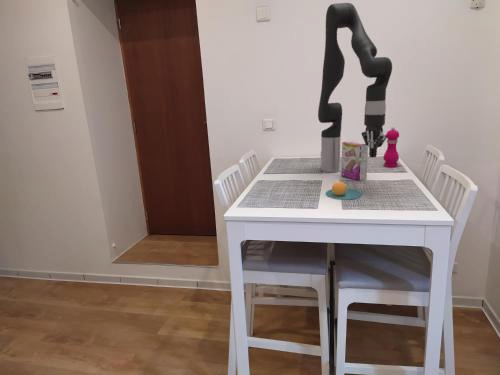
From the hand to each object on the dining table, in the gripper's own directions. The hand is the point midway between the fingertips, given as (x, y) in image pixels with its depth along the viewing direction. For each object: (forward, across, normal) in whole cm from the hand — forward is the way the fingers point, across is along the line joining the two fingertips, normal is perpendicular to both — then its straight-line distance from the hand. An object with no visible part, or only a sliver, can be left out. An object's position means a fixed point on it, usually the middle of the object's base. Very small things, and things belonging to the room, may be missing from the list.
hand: (372, 157), depth 134 cm
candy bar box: (+14, -18, +4) cm, 23 cm away
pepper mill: (+14, -27, +32) cm, 44 cm away
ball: (+11, +1, -16) cm, 19 cm away
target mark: (+14, 0, -13) cm, 19 cm away
